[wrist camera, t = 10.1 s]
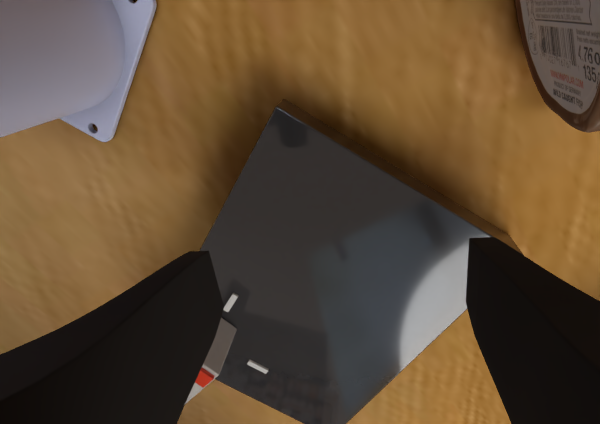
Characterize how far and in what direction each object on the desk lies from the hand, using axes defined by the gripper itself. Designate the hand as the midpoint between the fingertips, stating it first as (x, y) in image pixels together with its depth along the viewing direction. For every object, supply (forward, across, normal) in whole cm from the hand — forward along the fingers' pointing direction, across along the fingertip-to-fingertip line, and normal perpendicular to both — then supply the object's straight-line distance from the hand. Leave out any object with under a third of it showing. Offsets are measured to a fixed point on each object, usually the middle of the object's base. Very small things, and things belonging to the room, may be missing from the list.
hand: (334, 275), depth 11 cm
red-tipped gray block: (+8, +10, +10) cm, 16 cm away
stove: (+10, +3, +8) cm, 13 cm away
